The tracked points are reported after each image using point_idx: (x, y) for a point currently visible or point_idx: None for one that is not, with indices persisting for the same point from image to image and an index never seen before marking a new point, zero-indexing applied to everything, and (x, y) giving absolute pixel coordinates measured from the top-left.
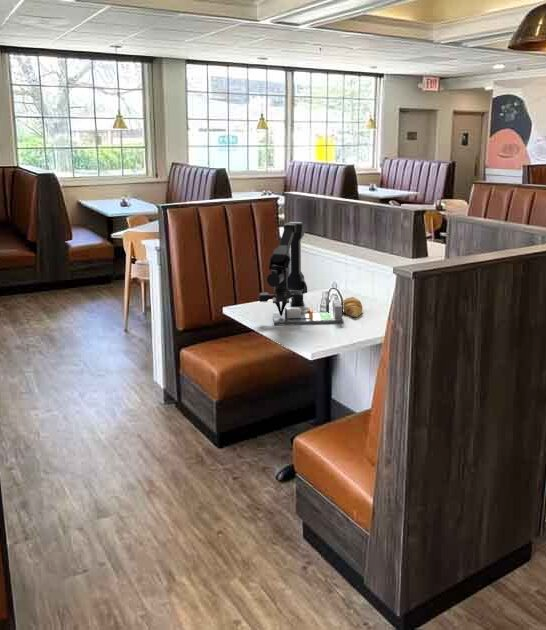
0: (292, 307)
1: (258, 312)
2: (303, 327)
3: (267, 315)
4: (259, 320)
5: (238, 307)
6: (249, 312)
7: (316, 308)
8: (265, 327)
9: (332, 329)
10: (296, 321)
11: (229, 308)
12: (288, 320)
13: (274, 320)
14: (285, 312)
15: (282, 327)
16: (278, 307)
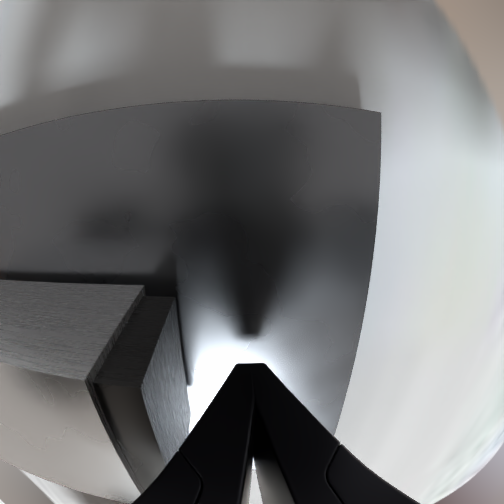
0: (52, 477)
1: (399, 475)
2: (5, 39)
3: (364, 448)
4: (471, 321)
5: (447, 490)
6: (444, 460)
7: (35, 483)
8: (451, 60)
9: None
10: (20, 144)
11: (481, 468)
12: (123, 192)
13: (369, 214)
14: (145, 354)
15: (243, 3)
16: (349, 480)
